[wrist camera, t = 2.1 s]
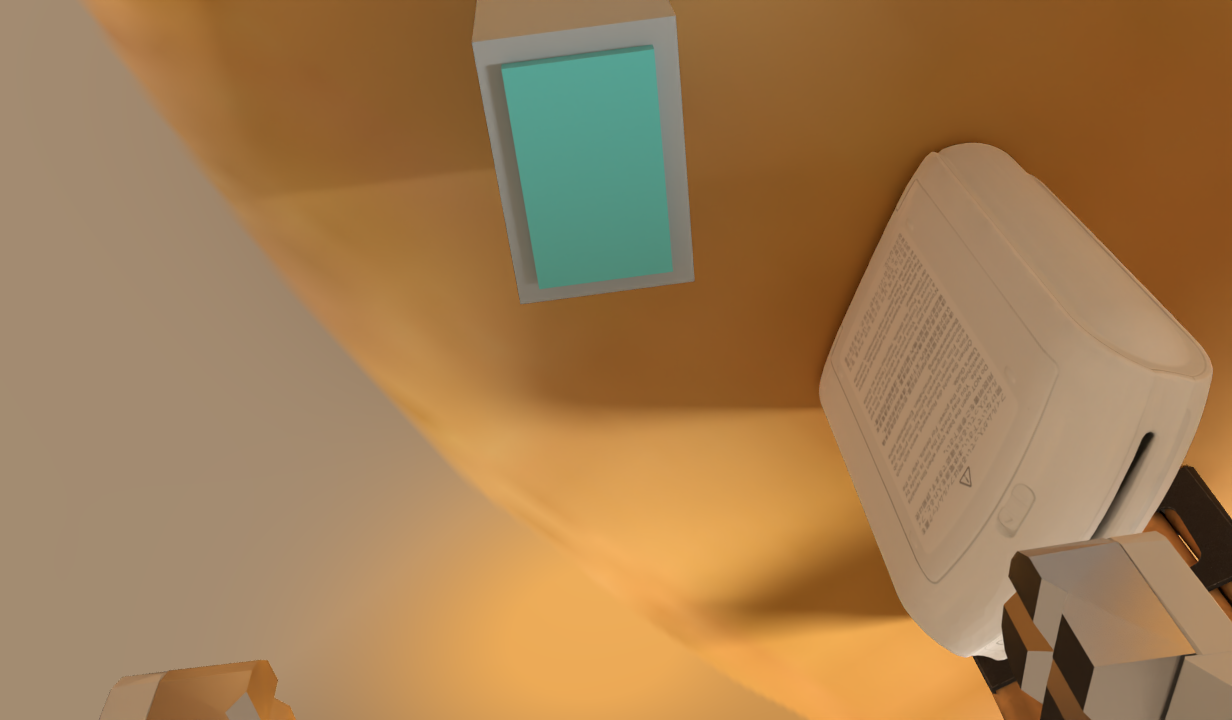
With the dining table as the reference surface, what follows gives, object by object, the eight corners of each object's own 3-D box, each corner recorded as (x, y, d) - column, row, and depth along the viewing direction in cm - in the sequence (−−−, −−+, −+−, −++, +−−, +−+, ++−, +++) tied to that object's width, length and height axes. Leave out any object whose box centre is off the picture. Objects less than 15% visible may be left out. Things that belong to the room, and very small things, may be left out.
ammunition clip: (1190, 463, 39) (1420, 736, 29) (1204, 491, 40) (1432, 766, 30) (937, 590, 42) (1067, 878, 32) (955, 613, 43) (1088, 900, 33)
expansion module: (636, -72, 26) (678, 20, 20) (655, 144, 30) (696, 287, 23) (483, -52, 26) (470, 47, 20) (519, 162, 30) (520, 311, 23)
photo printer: (909, 418, 36) (1061, 711, 26) (798, 399, 35) (910, 694, 25) (1047, 154, 31) (1307, 395, 21) (920, 124, 30) (1126, 358, 20)
